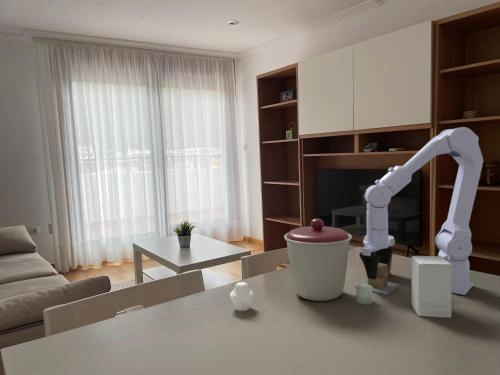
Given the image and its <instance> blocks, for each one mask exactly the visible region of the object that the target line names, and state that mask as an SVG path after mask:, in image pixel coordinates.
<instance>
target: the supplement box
mask: <svg viewBox="0 0 500 375" xmlns="http://www.w3.org/2000/svg"><path fill="white" fill-rule="evenodd" d="M451 279H452V264H450V263H449V262H448V261H447V260H446V259H444V258H443V257H442V256H438V255H437V256H436V255H435V256H434V255H433V256H431V255H428V256H427V255H414V256H413V255H412V256H411V301H410V302H411V305H412V308H413V309H414V311H415V312H416V314H417V316H418V317H434V318H449V319H450V318H452V292H451Z"/></svg>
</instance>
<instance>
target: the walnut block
mask: <svg viewBox="0 0 500 375" xmlns="http://www.w3.org/2000/svg"><path fill="white" fill-rule="evenodd" d="M367 279H368V284H369V285H371V286H372V287H375V288H380V289H382V288H384V287H385V286H387V282H388V277H387V264H382V263H378V268H377V276H376V279H375V280H374V279H369V278H368V277H367Z"/></svg>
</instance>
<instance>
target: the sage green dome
mask: <svg viewBox="0 0 500 375" xmlns="http://www.w3.org/2000/svg"><path fill="white" fill-rule="evenodd" d="M355 289H356V293H355V294H356V295H355V296H356V297H355V298H356V300H355V301H356V303H358V304H360V305H371V304H373V292H372V286H371V285H369V284H361V283H359V284H356V286H355Z"/></svg>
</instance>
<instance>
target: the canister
mask: <svg viewBox="0 0 500 375" xmlns="http://www.w3.org/2000/svg"><path fill="white" fill-rule="evenodd" d="M283 237H284V240H285V241H286V245H287V255H288V260H289V269H290V274H291V282H292V285H293V289H294V291H295V293H296V294H297V295H298V296H299V297H301V298H303V299H306V300H309V301H314V302H316V301H317V302H322V301H323V302H325V301H331V300H335V299H337V298H338V297H340V296H341V294H343V292H344V289H345V284H346V275H347V268H348V267H347V266H348V258H349V257H348V256H349V248H350V246H349V245H350V241H351V240H352V238H353V235H352V234H350V233H349V232H348V231H346V230H344V229H342V228H340V227H339V228H338V227H334V226H333V227H332V226H325V223H324V220H322V219H321V218H313V219H312V220H311V221H310V226H301V227H297V228H293V229H292V230H290V231H289V232H287V233H286V234H284V236H283Z"/></svg>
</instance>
